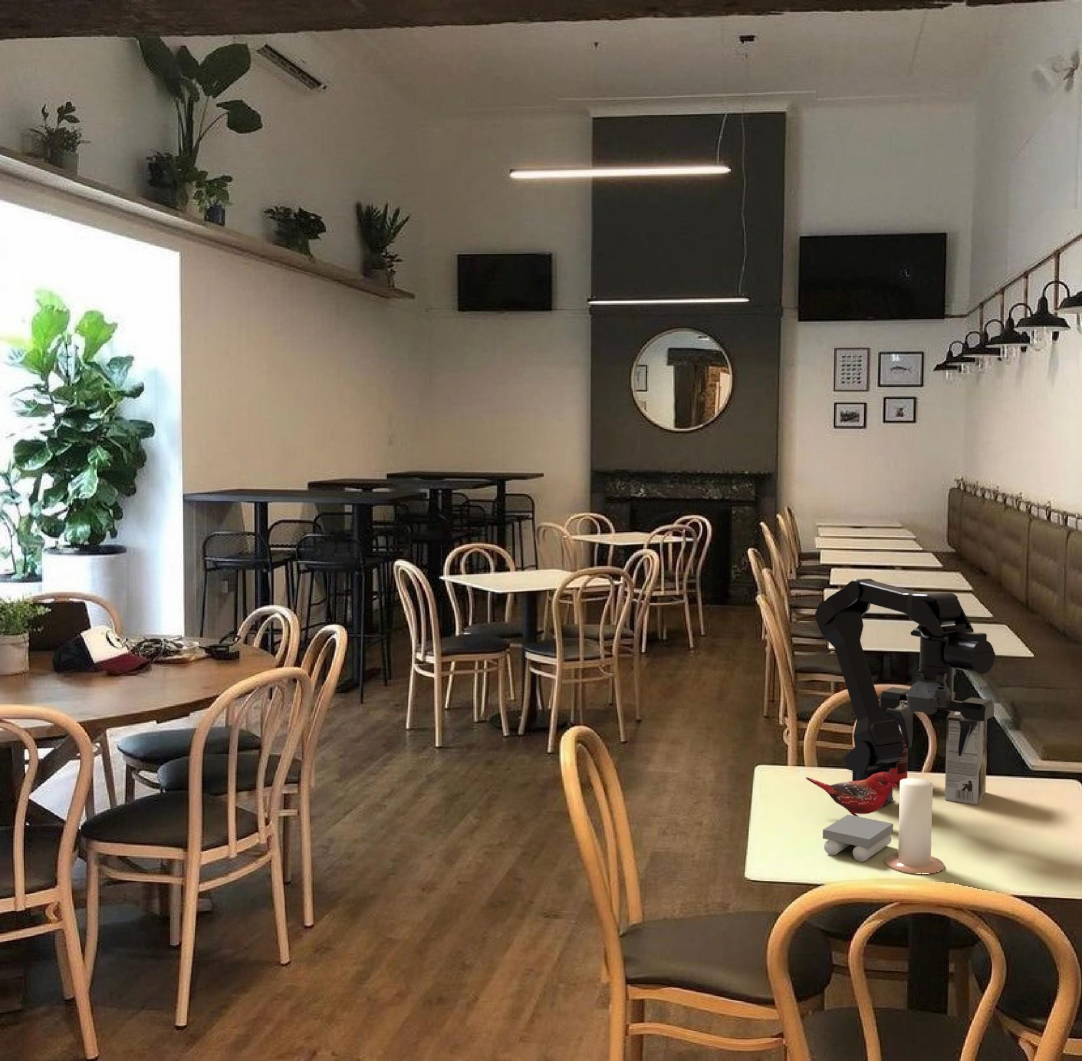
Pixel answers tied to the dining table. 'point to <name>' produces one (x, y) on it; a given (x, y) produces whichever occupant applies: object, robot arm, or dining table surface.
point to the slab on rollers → (857, 836)
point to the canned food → (900, 766)
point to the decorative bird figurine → (860, 793)
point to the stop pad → (932, 868)
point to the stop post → (915, 822)
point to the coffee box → (965, 763)
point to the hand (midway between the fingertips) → (934, 751)
